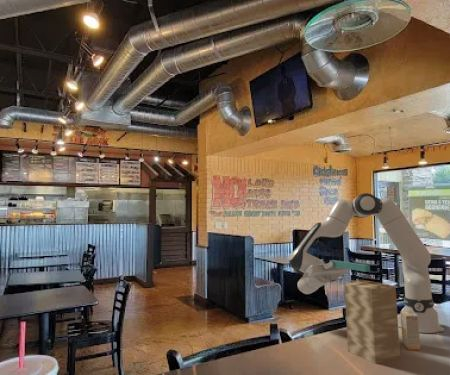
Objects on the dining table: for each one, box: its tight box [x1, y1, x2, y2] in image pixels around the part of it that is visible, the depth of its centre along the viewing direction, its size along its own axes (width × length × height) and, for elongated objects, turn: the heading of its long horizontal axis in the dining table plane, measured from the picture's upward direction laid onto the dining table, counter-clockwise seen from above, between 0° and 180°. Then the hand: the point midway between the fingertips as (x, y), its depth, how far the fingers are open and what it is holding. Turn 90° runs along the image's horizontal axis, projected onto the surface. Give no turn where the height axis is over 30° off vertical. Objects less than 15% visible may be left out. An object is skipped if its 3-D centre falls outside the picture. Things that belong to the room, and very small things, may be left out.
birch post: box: [344, 279, 401, 364], centre depth 139 cm, size 14×12×27 cm
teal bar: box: [329, 259, 371, 273], centre depth 150 cm, size 21×2×2 cm, turn 23°
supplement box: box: [400, 310, 421, 351], centre depth 145 cm, size 8×5×13 cm, turn 168°
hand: (336, 262), depth 157 cm, fingers closed on teal bar, 2 cm apart
